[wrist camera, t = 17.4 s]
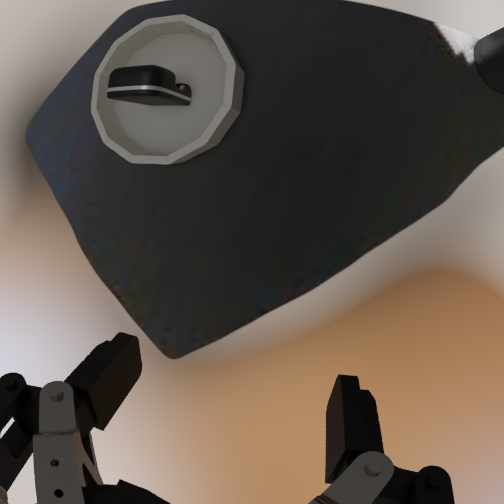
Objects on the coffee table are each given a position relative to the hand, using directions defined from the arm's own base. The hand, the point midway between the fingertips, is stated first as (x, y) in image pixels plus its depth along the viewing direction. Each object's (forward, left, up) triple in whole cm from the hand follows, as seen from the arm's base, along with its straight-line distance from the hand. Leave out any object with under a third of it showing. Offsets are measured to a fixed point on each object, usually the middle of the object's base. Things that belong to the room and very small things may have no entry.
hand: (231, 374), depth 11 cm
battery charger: (+17, -15, -31) cm, 38 cm away
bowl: (+17, -15, -32) cm, 39 cm away
